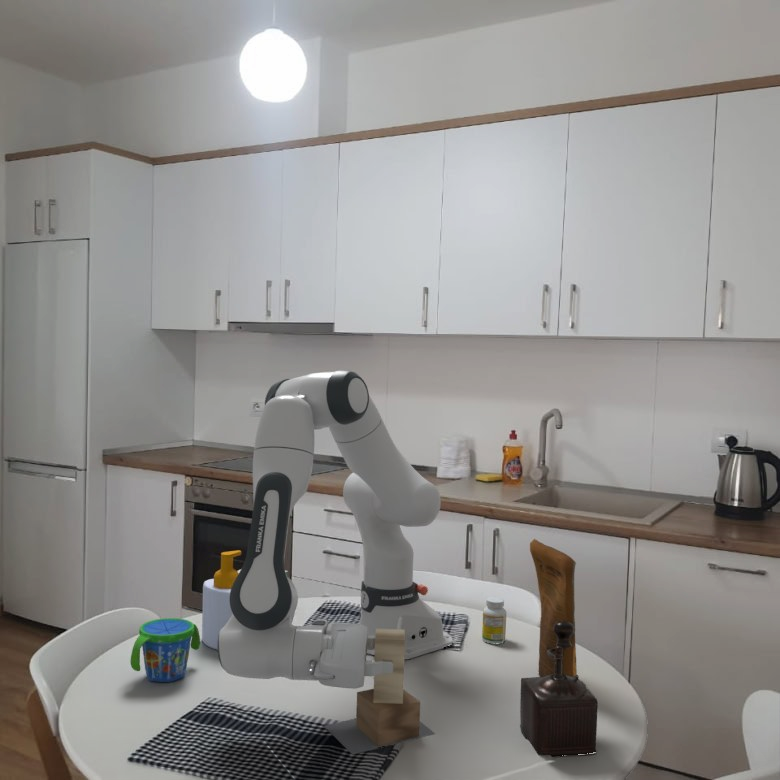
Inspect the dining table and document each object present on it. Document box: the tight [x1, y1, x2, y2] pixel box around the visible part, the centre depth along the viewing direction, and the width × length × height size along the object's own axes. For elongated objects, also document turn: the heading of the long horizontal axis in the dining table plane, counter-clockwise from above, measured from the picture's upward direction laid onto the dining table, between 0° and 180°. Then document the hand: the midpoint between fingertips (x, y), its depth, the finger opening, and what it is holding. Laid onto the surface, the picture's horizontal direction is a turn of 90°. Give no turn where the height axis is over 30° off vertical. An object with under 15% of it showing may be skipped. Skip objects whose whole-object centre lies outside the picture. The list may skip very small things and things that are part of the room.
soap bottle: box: [201, 549, 242, 651], centre depth 176 cm, size 13×8×20 cm, turn 49°
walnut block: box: [355, 688, 421, 746], centre depth 137 cm, size 8×8×6 cm
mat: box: [323, 718, 436, 756], centre depth 137 cm, size 16×11×1 cm
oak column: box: [373, 629, 405, 704], centre depth 136 cm, size 5×5×11 cm
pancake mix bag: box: [529, 538, 578, 677], centre depth 160 cm, size 7×19×28 cm, turn 8°
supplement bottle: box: [481, 596, 507, 645], centre depth 183 cm, size 5×5×10 cm
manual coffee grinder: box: [519, 621, 599, 758], centre depth 138 cm, size 16×11×18 cm
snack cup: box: [130, 617, 201, 683], centre depth 158 cm, size 16×10×10 cm
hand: (393, 655), depth 136 cm, fingers open, 8 cm apart
